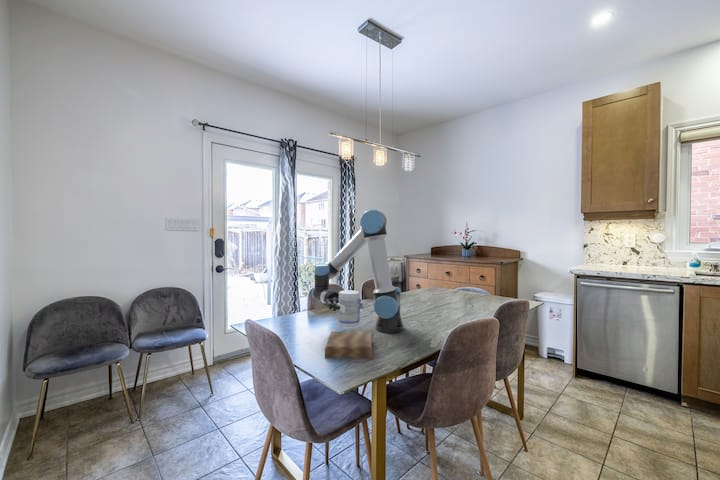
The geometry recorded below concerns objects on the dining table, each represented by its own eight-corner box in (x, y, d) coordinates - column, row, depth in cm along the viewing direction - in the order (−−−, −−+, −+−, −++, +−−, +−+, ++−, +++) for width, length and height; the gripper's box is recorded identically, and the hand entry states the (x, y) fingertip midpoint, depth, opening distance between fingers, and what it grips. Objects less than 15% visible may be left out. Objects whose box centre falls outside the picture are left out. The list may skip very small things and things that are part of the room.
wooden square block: (371, 341, 149) (371, 331, 149) (372, 358, 129) (372, 347, 129) (330, 341, 150) (330, 331, 149) (324, 358, 130) (324, 346, 129)
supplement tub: (362, 326, 136) (363, 293, 136) (342, 328, 133) (342, 294, 132) (355, 320, 145) (355, 289, 145) (335, 322, 142) (336, 290, 141)
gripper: (349, 302, 160) (374, 312, 141) (310, 308, 148) (332, 320, 129) (349, 288, 160) (375, 296, 141) (310, 293, 148) (332, 302, 129)
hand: (354, 307), depth 135 cm, fingers closed on supplement tub, 9 cm apart
